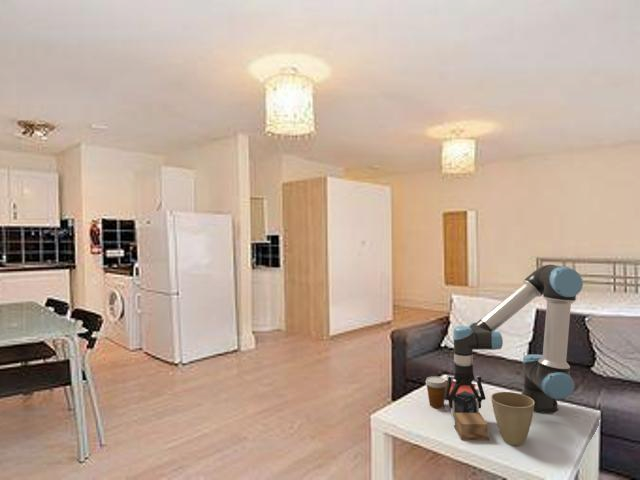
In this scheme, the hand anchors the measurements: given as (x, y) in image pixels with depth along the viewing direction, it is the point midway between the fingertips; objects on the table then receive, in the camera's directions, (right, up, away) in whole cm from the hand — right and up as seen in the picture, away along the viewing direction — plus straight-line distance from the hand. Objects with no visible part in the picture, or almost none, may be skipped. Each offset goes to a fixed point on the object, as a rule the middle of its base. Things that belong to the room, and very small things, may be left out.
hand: (465, 415), depth 171 cm
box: (0, -2, 0) cm, 2 cm away
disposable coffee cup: (-8, -2, +15) cm, 17 cm away
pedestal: (-2, -2, -12) cm, 12 cm away
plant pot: (+12, -2, -18) cm, 22 cm away
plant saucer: (+5, -2, +28) cm, 28 cm away
